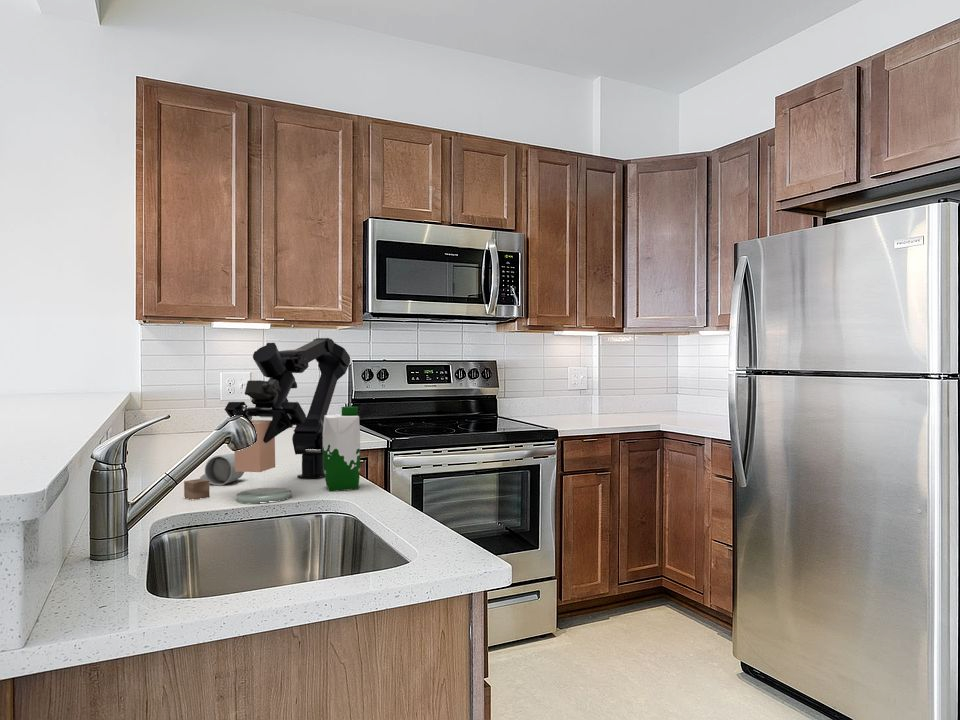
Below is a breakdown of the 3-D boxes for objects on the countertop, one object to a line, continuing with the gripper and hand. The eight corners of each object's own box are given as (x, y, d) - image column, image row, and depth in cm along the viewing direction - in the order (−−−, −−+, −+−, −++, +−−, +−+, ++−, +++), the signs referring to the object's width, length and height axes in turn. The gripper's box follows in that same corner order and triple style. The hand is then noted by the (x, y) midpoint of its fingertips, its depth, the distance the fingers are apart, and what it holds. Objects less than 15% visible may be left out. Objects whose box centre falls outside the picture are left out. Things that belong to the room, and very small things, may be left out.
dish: (257, 491, 156) (257, 486, 156) (301, 493, 153) (301, 488, 153) (225, 502, 145) (224, 497, 145) (271, 505, 141) (271, 499, 141)
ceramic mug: (247, 479, 172) (246, 451, 172) (232, 485, 164) (231, 455, 164) (210, 480, 173) (209, 451, 173) (193, 486, 165) (192, 456, 165)
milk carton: (362, 489, 157) (361, 407, 157) (324, 492, 154) (323, 409, 154) (358, 483, 165) (357, 405, 165) (321, 485, 163) (320, 406, 163)
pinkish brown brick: (251, 466, 152) (250, 420, 152) (275, 467, 151) (274, 420, 151) (234, 471, 146) (233, 423, 146) (259, 472, 145) (258, 423, 145)
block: (200, 495, 153) (200, 478, 153) (209, 497, 151) (209, 480, 151) (184, 498, 150) (184, 481, 150) (192, 500, 147) (192, 483, 147)
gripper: (228, 368, 154) (199, 419, 144) (298, 367, 150) (274, 420, 139) (248, 398, 162) (221, 448, 152) (315, 398, 158) (293, 450, 147)
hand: (251, 441), depth 147 cm, fingers closed on pinkish brown brick, 6 cm apart
